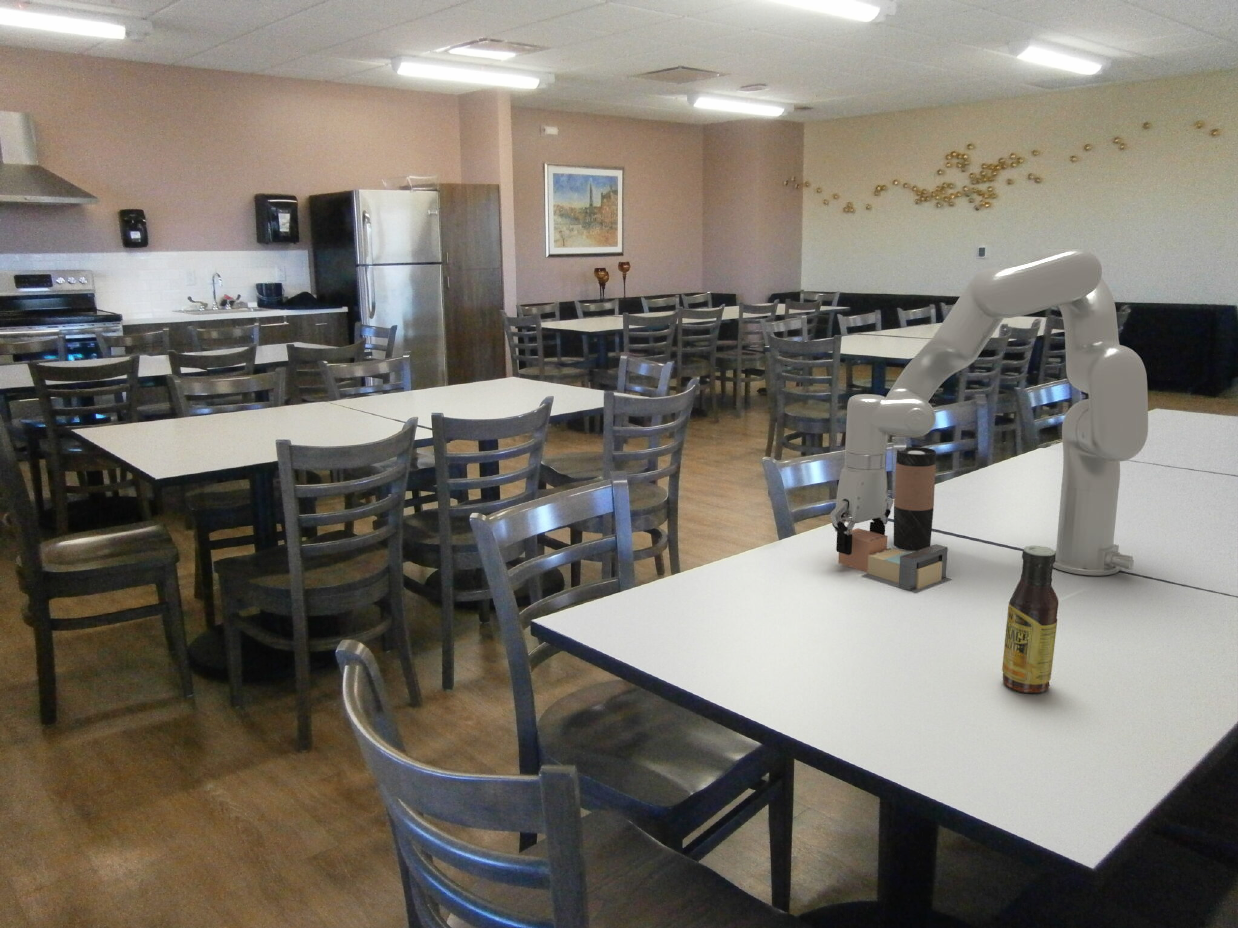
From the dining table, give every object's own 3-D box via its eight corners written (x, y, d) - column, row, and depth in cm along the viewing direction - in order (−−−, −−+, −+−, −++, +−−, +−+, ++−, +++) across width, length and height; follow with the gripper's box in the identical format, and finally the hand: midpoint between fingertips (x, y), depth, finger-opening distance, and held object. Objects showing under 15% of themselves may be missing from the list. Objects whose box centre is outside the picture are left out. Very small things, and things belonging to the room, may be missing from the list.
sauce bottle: (993, 677, 133) (1002, 542, 129) (1035, 674, 133) (1046, 540, 129) (1016, 698, 127) (1026, 557, 122) (1060, 695, 127) (1072, 555, 123)
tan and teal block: (941, 580, 171) (942, 561, 170) (918, 588, 167) (918, 569, 166) (890, 565, 180) (891, 547, 179) (867, 573, 175) (868, 555, 175)
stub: (886, 566, 180) (887, 535, 178) (867, 572, 176) (869, 541, 175) (856, 557, 185) (857, 527, 184) (838, 563, 182) (839, 533, 180)
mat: (952, 580, 172) (952, 579, 171) (915, 594, 165) (915, 593, 165) (897, 564, 181) (897, 563, 181) (860, 577, 174) (860, 575, 174)
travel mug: (933, 553, 187) (938, 455, 183) (893, 551, 189) (898, 454, 184) (929, 541, 194) (934, 447, 190) (890, 540, 196) (894, 446, 192)
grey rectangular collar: (946, 577, 172) (947, 547, 171) (910, 590, 166) (911, 559, 165) (934, 574, 174) (936, 544, 173) (898, 587, 168) (900, 556, 167)
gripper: (877, 451, 184) (872, 535, 188) (818, 463, 174) (814, 552, 178) (910, 458, 178) (904, 544, 182) (851, 470, 168) (846, 562, 172)
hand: (860, 548), depth 180 cm, fingers open, 9 cm apart
